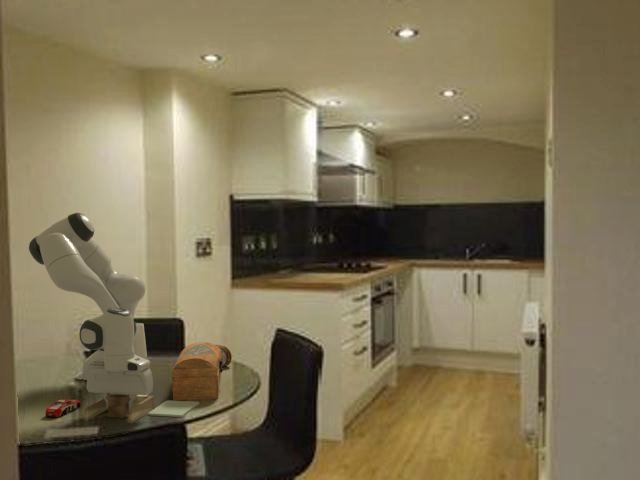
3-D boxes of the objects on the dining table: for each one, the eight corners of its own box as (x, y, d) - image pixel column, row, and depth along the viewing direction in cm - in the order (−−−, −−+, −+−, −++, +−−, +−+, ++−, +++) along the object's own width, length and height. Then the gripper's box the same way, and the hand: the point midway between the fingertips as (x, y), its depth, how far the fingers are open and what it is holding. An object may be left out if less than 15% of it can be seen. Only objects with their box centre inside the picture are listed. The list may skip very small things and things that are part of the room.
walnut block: (108, 416, 186) (107, 397, 186) (116, 411, 191) (116, 392, 191) (123, 417, 186) (123, 397, 185) (131, 412, 190) (131, 393, 190)
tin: (232, 367, 251) (232, 346, 251) (227, 368, 249) (226, 347, 248) (204, 362, 259) (204, 342, 259) (199, 364, 257) (199, 343, 256)
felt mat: (147, 415, 188) (147, 413, 188) (167, 402, 202) (167, 400, 202) (182, 417, 186) (182, 415, 186) (199, 403, 200) (199, 401, 200)
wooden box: (221, 399, 206) (220, 357, 205) (170, 401, 204) (169, 358, 204) (225, 377, 235) (225, 340, 235) (181, 378, 234) (180, 341, 233)
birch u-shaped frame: (84, 420, 183) (84, 407, 183) (109, 406, 197) (109, 393, 197) (132, 423, 180) (132, 409, 180) (154, 408, 194) (154, 396, 194)
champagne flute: (123, 394, 211) (122, 324, 210) (142, 391, 215) (142, 322, 214) (130, 399, 205) (130, 326, 205) (150, 395, 209) (149, 324, 209)
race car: (69, 406, 199) (69, 393, 199) (84, 407, 198) (84, 394, 197) (41, 418, 186) (41, 405, 186) (57, 419, 185) (57, 406, 185)
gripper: (82, 363, 187) (82, 409, 187) (145, 365, 183) (146, 412, 183) (93, 358, 193) (93, 403, 193) (155, 361, 189) (155, 406, 190)
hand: (119, 407), depth 188 cm, fingers closed on walnut block, 5 cm apart
